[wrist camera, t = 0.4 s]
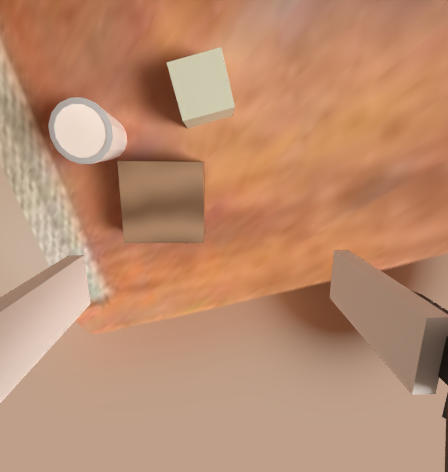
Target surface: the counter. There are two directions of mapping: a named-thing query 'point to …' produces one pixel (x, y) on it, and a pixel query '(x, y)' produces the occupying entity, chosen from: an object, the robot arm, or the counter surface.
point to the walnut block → (162, 201)
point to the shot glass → (86, 132)
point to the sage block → (202, 87)
